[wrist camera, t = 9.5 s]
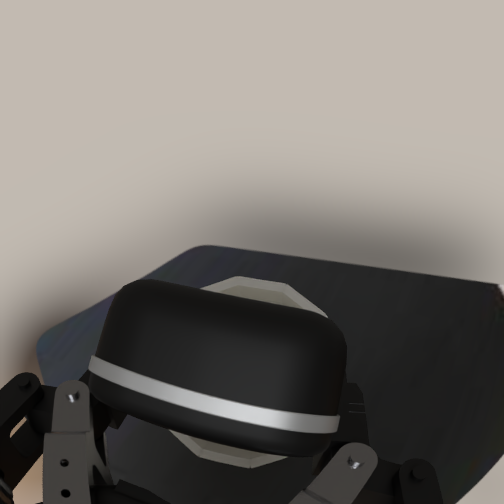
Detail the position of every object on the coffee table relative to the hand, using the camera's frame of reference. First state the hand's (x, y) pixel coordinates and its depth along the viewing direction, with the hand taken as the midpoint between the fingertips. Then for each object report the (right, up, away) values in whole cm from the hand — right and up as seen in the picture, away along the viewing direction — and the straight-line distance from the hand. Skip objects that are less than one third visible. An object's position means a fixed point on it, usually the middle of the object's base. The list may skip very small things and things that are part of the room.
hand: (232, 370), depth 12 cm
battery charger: (0, -3, +5) cm, 6 cm away
